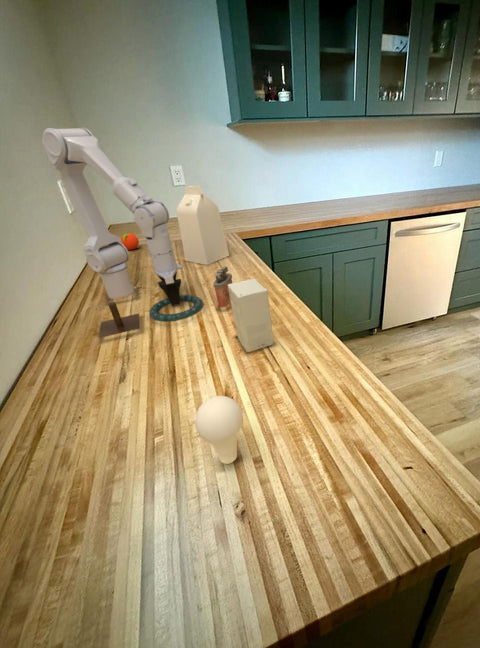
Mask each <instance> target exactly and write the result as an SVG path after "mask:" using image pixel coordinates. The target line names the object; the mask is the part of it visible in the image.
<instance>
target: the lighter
mask: <svg viewBox="0 0 480 648" xmlns="http://www.w3.org/2000/svg"><path fill="white" fill-rule="evenodd" d="M228 272H229V268H228V266H227V265H226V266H223V267H222V268H220V269H217V270H216V273H215V274H214V277H215V279H214V281H213V283H212V284H213V287H214V290H215V295H216V301H217V306H218V307H219V308H220V307H221V308H225V307H226V306H228V305H229V304H231V301H230V296H229V290H228V284H231V283H233V279H232V278H233V275H232V273H228Z"/></svg>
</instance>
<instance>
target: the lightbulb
mask: <svg viewBox="0 0 480 648" xmlns="http://www.w3.org/2000/svg"><path fill="white" fill-rule="evenodd" d="M243 424H244V414H243V410H242V408H241V406H240V404H239V403H238V402H237V401H235V399H233V398H231V397H229V396H226V395H214V396H212V397H209V398H208V399H206V400H204V401H203V403H201V405H199V407H198V409H197V410H196V413H195V417H194V426H195V427H194V428H195V430H196V433H197V434H198V435H199V437H200V438H201V439H202V440H203V441H205V442H206V443H208V444H210V445H211V446H212V448H213V450H214V453H216V454H217V456H218V458H219V461H220V463H222V464H223V465H224V464H225V465H228V464H231V463H233V462H235V460H236V459H237V457H238V449H237V447H238V435H240V434H239V433H240V431H241V429H242V427H243Z"/></svg>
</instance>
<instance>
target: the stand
mask: <svg viewBox="0 0 480 648" xmlns="http://www.w3.org/2000/svg"><path fill="white" fill-rule="evenodd" d="M107 305H108V309H109V311H110V314H111V316H112V319H108V320H104V321H101V322H100V327H99V332H98V333H99V334H98V339H102V338H106V337H111V336H115V335H119V334H123V333H126V332H127V333H128V332H132V331H135V330H140V313H135V314H131V315H126V316H121V314H120V311H119V308H118V305H117V302H115V301H111V302H109V303H107Z"/></svg>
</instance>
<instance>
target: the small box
mask: <svg viewBox="0 0 480 648" xmlns="http://www.w3.org/2000/svg"><path fill="white" fill-rule="evenodd" d="M228 290H229V296H230V301H231V302H230V306H231V313H232V318H233V324H234V330H235V334H236V338H237V339H238V341H239V342H240V344H241V346H242V347H243V349H244V350H245V352H246V353H251V352H254V351H257V350H260V349H264V348H267V347H270V346H273V345H274V344H275V341H274V334H273V326H272V318H271V317H272V316H271V310H270V309H271V308H270V301H269V299H270V298H269V292H268V291H269V290H268V289H267V288H265V287H264V286H263V285H262V284H261V283H260V282H259V281H258V280H257V279H256V278H250V279H246V280H241V281H236V282H232V283H231V284H228Z"/></svg>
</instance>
